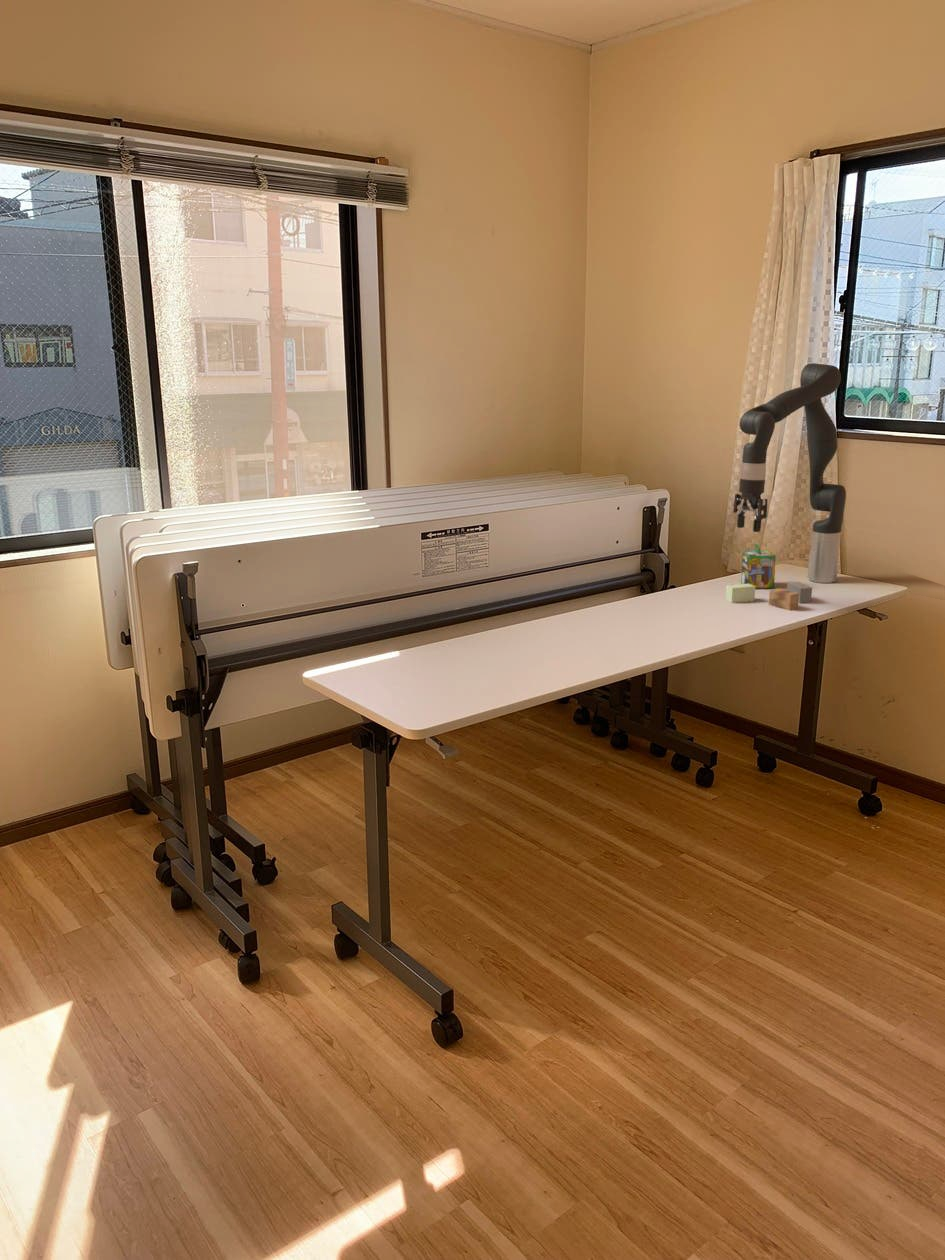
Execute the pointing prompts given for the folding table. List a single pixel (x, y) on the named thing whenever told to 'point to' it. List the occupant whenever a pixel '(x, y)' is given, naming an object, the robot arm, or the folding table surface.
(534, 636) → the folding table surface
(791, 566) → the folding table surface
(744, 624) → the folding table surface
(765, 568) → the chalk box
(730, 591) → the sage brick
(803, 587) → the charcoal brick
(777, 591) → the walnut brick
